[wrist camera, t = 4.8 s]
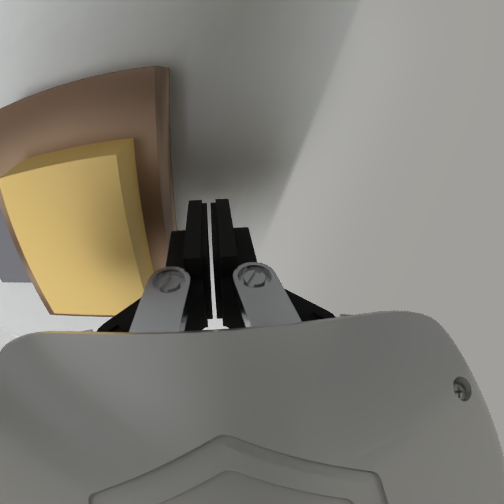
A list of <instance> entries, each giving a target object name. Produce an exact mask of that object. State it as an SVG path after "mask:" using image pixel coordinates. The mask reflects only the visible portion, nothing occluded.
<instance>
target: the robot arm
mask: <svg viewBox="0 0 504 504" xmlns="http://www.w3.org/2000/svg"><path fill="white" fill-rule="evenodd" d="M211 224H212V247H213V266H214V282H215V296H216V310H217V319H218V318H223V326H227V327H228V328H230V329H217V330H202V329H204V328H205V327H208V320H207V319H213V315H212V299H211V280H210V258H209V241H208V221H207V203H202V200H192V201H189V204H188V213H187V222H186V230H182V231H172V232H171V236H170V242H169V248H168V254H167V260H166V267H164V268H161V269H159V270H157V271H155V272H154V273H153V274H152V275H151V276H150V278H149V279H148V282H147V284H146V287H145V289H144V292H143V295H142V297H141V298H140V299H138V300H137V301H135V302H134V303H132V304H131V305H130V306H128V307H127V308H125V309H124V310H122V311H121V312H120V313H118V314H117V315H115V316H114V317H113V318H111V319H110V320H108V321H107V322H106V323H104V324H103V325H102V326H101V327H100V328H99V329H98V330H97V332H93V330H92V329H91V330H85V331H46V332H36V333H31V334H27V335H24V336H21V337H18V338H16V339H14V340H12V341H10V342H9V343H7V344H6V345H5V346H4V347H3V349H2V350H1V352H0V504H504V456H503V452H502V449H501V446H500V442H499V439H498V435H497V432H496V429H495V426H494V423H493V420H492V418H491V415H490V412H489V410H488V407H487V405H486V403H485V400H484V398H483V396H482V393H481V391H480V389H479V387H478V385H477V382H476V380H475V378H474V376H473V374H472V372H471V370H470V368H469V366H468V365H467V363H466V361H465V359H464V357H463V356H462V354H461V352H460V351H459V349H458V347H457V346H456V344H455V343H454V341H453V340H452V338H451V337H450V336H449V334H448V333H447V332H446V331H445V329H444V328H443V327H442V326H441V325H440V324H439V323H438V322H437V321H436V320H434V319H433V318H431V317H429V316H426V315H424V314H420V313H415V312H409V311H380V312H372V313H364V314H356V315H345V314H340V316H339V317H335V316H334V315H333V314H332V313H330V312H329V311H327V310H325V309H323V308H321V307H319V306H317V305H315V304H313V303H311V302H309V301H307V300H305V299H303V298H301V297H299V296H298V295H296V294H293V293H292V292H290V291H288V290H286V289H284V288H283V286H282V284H281V282H280V280H279V279H278V277H277V275H276V273H275V272H274V270H273V269H272V268H271V267H269V266H268V265H265V264H263V263H258V262H257V260H256V256H255V252H254V248H253V244H252V240H251V236H250V233H249V229H248V227H243V228H233V224H232V218H231V212H230V206H229V200H228V199H216V203H211Z"/></svg>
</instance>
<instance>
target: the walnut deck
mask: <svg viewBox="0 0 504 504" xmlns="http://www.w3.org/2000/svg"><path fill="white" fill-rule="evenodd" d="M128 138H134V150H135V160H136V169H137V178H138V186H139V193H140V200H141V207H142V213H143V219H144V225H145V231H146V236H147V242H148V247H149V252H150V257H151V262H152V266H153V271H154V272H155V271H157V270H159V269H161V268H164V267H166V260H167V254H168V248H169V242H170V236H171V232H172V231H177V227H176V217H175V207H174V196H173V183H172V168H171V151H170V125H169V68H165V67H159V66H150V67H142V68H136V69H129V70H123V71H118V72H112V73H107V74H103V75H98V76H94V77H90V78H86V79H82V80H78V81H74V82H71V83H67V84H64V85H61V86H57V87H54V88H51V89H48V90H45V91H42V92H40V93H37V94H34V95H32V96H29V97H26V98H24V99H21V100H19V101H17V102H14V103H12V104H10V105H8V106H5V107H3V108H1V109H0V177H1V176H2V175H4V174H5V173H6V172H8V171H9V170H10V169H12V168H13V167H14V166H16V165H17V164H19V163H20V162H21V161H23V160H24V159H26V158H30V157H34V156H38V155H41V154H46V153H50V152H54V151H58V150H63V149H68V148H72V147H77V146H83V145H88V144H94V143H100V142H106V141H113V140H120V139H128ZM0 207H1V210H2V213H3V216H4V219H5V222H6V224H7V227H8V230H9V232H10V235H11V238H12V240H13V242H14V245H15V247H16V250H17V252H18V254H19V256H20V259H21V261H22V263H23V265H24V267H25V269H26V271H27V273H28V275H29V277H30V279H31V281H32V283H33V285H34V287H35V289H36V291H37V293H38V294H39V296H40V298H41V300H42V302H43V303H44V305H45V307H46V308H47V310H48V312H49V313H50V315H68V316H96V317H114V316H115V315H80V314H58V313H54V312H53V310H52V309H51V307H50V305H49V303H48V302H47V300H46V298H45V296H44V294H43V293H42V291H41V289H40V287H39V285H38V283H37V281H36V279H35V277H34V275H33V273H32V271H31V269H30V267H29V265H28V262H27V260H26V258H25V256H24V253H23V251H22V249H21V246H20V244H19V242H18V239H17V237H16V234H15V231H14V229H13V226H12V223H11V221H10V218H9V215H8V212H7V209H6V206H5V202H4V199H3V196H2V192H1V189H0Z"/></svg>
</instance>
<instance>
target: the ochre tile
mask: <svg viewBox="0 0 504 504" xmlns="http://www.w3.org/2000/svg"><path fill="white" fill-rule="evenodd" d="M0 189H1V192H2V196H3V199H4V202H5V206H6V209H7V212H8V215H9V218H10V221H11V223H12V226H13V229H14V231H15V234H16V237H17V239H18V242H19V244H20V246H21V249H22V251H23V253H24V256H25V258H26V260H27V262H28V265H29V267H30V269H31V271H32V273H33V275H34V277H35V279H36V281H37V283H38V285H39V287H40V289H41V291H42V293H43V294H44V296H45V298H46V300H47V302H48V303H49V305H50V307H51V309H52V310H53V312H54V313H58V314H80V315H117V314H118V313H120V312H121V311H122V310H124V309H125V308H127V307H128V306H130V305H131V304H132V303H134V302H135V301H137V300H138V299H140V298H141V297H142V295H143V292H144V289H145V287H146V284H147V282H148V279H149V278H150V276H151V275H152V274H153V273H154V271H153V266H152V262H151V257H150V252H149V247H148V242H147V236H146V231H145V225H144V219H143V213H142V207H141V200H140V193H139V186H138V178H137V169H136V160H135V150H134V138H128V139H120V140H113V141H106V142H100V143H94V144H88V145H83V146H77V147H72V148H68V149H63V150H58V151H54V152H50V153H46V154H41V155H38V156H34V157H30V158H26V159H24V160H23V161H21V162H20V163H19V164H17V165H16V166H14V167H13V168H12V169H10V170H9V171H8V172H6V173H5V174H4V175H2V176H1V177H0Z"/></svg>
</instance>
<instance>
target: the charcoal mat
mask: <svg viewBox="0 0 504 504" xmlns="http://www.w3.org/2000/svg"><path fill="white" fill-rule="evenodd" d="M0 279H1V280H2V282H32V281H31V279H30V277H29V275H28V273H27V271H26V269H25V267H24V265H23V263H22V261H21V259H20V256H19V254H18V252H17V250H16V247H15V245H14V242H13V240H12V238H11V235H10V232H9V230H8V227H7V224H6V222H5V219H4V216H3V213H2V210H1V207H0Z"/></svg>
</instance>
